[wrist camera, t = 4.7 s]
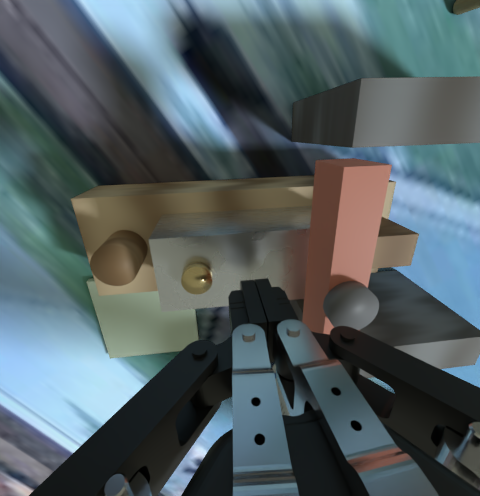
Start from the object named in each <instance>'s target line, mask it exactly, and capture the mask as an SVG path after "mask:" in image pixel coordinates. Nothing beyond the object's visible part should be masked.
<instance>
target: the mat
mask: <svg viewBox="0 0 480 496" xmlns="http://www.w3.org/2000/svg"><path fill="white" fill-rule="evenodd" d="M87 285H88V288H89V292H90V295H91V298H92V301H93V305H94V308H95V311H96V314H97V318H98V321H99V324H100V327H101V331H102V334H103V337H104V340H105V344H106V347H107V350H108V353H109V357H110V358H119V357H128V356H138V355H147V354H156V353H166V352H175V351H182V350H183V349H184V348H185V347H186V346H187V345H189V344H190V343H192V342H194V341H198V340H199V336H198V328H197V319H196V311H195V309H189V310H178V311H167V312H162V311H161V305H160V300H159V294H158V291H152V292H140V293H128V294H116V295H105V296H99V294H98V290H97V287H96V283H95V280H94V278H92V279H88V281H87Z"/></svg>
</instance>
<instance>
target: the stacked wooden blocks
mask: <svg viewBox="0 0 480 496" xmlns="http://www.w3.org/2000/svg"><path fill="white" fill-rule="evenodd" d="M291 142H301V143H311V144H321V145H331V146H341V147H352V148H354V147H380V146H406V145H431V144H457V143H480V77H416V78H361V79H358V80H355V81H353V82H350V83H347V84H344V85H341V86H339V87H336V88H333V89H330V90H327V91H325V92H322V93H319V94H316V95H313V96H311V97H308V98H305V99H302V100H299V101H297V102H294V103H293V115H292V136H291ZM395 184H396V182H394V181H391V180H389V182H388V187H387V192H386V197H385V202H384V208H383V213H382V218H381V223H380V228H379V233H378V238H377V243H376V248H375V254H374V259H373V264H372V269H371V274H370V279H369V284H368V289H369V290H370V291H371V292H372V293H373V294H374V295H375V296H376V297H377V299H378V301H379V310H378V313H377V315H376V317H375V318H374V320H373V321H372V322H371V323H370V324H368V325H367V326H366V327H364V328H362V329H360V330H359V331H361V332H363V333H365V334H367V335H369V336H371V337H373V338H375V339H377V340H380V341H382V342H384V343H386V344H388V345H390V346H392V347H394V348H396V349H399V350H401V351H403V352H405V353H407V354H409V355H411V356H413V357H415V358H418V359H420V360H422V361H424V362H426V363H428V364H430V365H432V366H434V367H437V368H439V369H444V368H452V367H460V366H468V365H475V363H476V361H477V359H478V356H479V354H480V330H479V329H477V328H476V327H475V326H473V325H472V324H470V323H469V322H468V321H466V320H465V319H464V318H462V317H461V316H459V315H458V314H457V313H455V312H454V311H452V310H451V309H450V308H448V307H447V306H446V305H444V304H443V303H441V302H440V301H439V300H437V299H436V298H434V297H433V296H432V295H430V294H429V293H428V292H426V291H425V290H423V289H422V288H421V287H419V286H418V285H417V284H415V283H414V282H412V281H411V280H410V279H408V278H407V277H405V276H404V275H403V274H401V273H400V272H399V271H397V270H391V271H379V272H377V271H378V268H386V267H398V266H410V265H411V262H412V258H413V255H414V251H415V247H416V243H417V239H418V236H419V234H418V233H416V232H413V231H411V230H409V229H407V228H405V227H403V226H401V225H399V224H397V223H395V222H393V221H390V220H388V218H389V213H390V208H391V204H392V199H393V194H394V189H395ZM313 186H314V175H310V176H290V177H269V178H248V179H228V180H207V181H186V182H166V183H145V184H124V185H104V186H97V187H95V188H92V189H90V190H88V191H86V192H84V193H82V194H80V195H78V196H76V197H74V198H72V199H71V201H72V205H73V208H74V211H75V215H76V218H77V222H78V225H79V229H80V232H81V235H82V239H83V242H84V246H85V249H86V253H87V256H88V259H89V263H90V267H91V270H92V273H93V277H94V280H95V283H96V287H97V290H98V294H99V296H105V295H116V294H128V293H140V292H152V291H158V289H157V283H156V278H155V273H154V267H153V262H152V256H151V251H150V245H149V240H148V239H149V238H150V236H151V234H152V232H153V230H154V229H155V227H156V225H157V223H158V221H159V220H160V218H161V216H162V215H163V214H180V213H197V212H214V211H231V210H248V209H265V208H282V207H298V206H312V199H313ZM289 301H290V304H291V305H292V307H293V309H294V311H295V313H296V315H297V317H298V319H299V321H301V322H302V319H303V307H304V299H297V300H289ZM360 375H362V376H364V377H366V378H371V377H374V376H372V375H370V374H369V373H367V372H365V371H363V370H362V369H360Z"/></svg>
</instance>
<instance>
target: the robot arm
mask: <svg viewBox="0 0 480 496" xmlns="http://www.w3.org/2000/svg"><path fill="white" fill-rule="evenodd" d="M228 300H229V316H230V326H231V336H230V337H229V338H228V339H227V340H226V341H225V342H223V343H221V344H218V345H215V344H213V343H212V342H210V341H207V340H198V341H194V342H192V343H190V344H189V345H187V346H186V347H185V348H184V349H183V350H182V351H181V352H180V353H179V354H178V355H177V356H176V357H175V358H173V359H172V360H171V361H170V362H169V363H168V364H167V365H166V366H165V367H164V368H163V369H162V370H161V371H160V372H159V373H158V374H157V375H156V376H154V377H153V378H152V379H151V380H150V381H149V382H148V383H147V384H146V385H145V386H144V387H143V388H142V389H141V390H140V391H139V392H138V393H137V394H135V395H134V396H133V397H132V398H131V399H130V400H129V401H128V402H127V403H126V404H125V405H124V406H123V407H122V408H121V409H120V410H119V411H118V412H116V413H115V414H114V415H113V416H112V417H111V418H110V419H109V420H108V421H107V422H106V423H105V424H104V425H103V426H102V427H101V428H100V429H99V430H97V431H96V432H95V433H94V434H93V435H92V436H91V437H90V438H89V439H88V440H87V441H86V442H85V443H84V444H83V445H82V446H81V447H80V448H78V449H77V450H76V451H75V452H74V453H73V454H72V455H71V456H70V457H69V458H68V459H67V460H66V461H65V462H64V463H63V464H62V465H61V466H59V467H58V468H57V469H56V470H55V471H54V472H53V473H52V474H51V475H50V476H49V477H48V478H47V479H46V480H45V481H44V482H43V483H42V484H41V485H39V486H38V487H37V488H36V489H35V490H34V491H33V492H32V493H31V494H30V495H29V496H157V495H158V493H159V492H160V491H161V489H162V488H163V486H164V485H165V484H166V482H167V481H168V479H169V478H170V477H171V475H172V474H173V472H174V471H175V469H176V468H177V467H178V465H179V464H180V462H181V461H182V460H183V458H184V457H185V455H186V454H187V453H188V451H189V450H190V448H191V447H192V445H193V444H194V443H195V441H196V440H197V438H198V437H199V436H200V434H201V433H202V431H203V430H204V429H205V427H206V426H207V424H208V423H209V421H210V420H211V419H212V417H213V416H214V414H215V413H216V412H217V410H218V409H219V407H220V405H221V401H223V400H225V399H227V398H229V397H231V396H232V405H233V429H231V430H230V431H228V432H226V433H225V434H224V435H222V436H221V437H220V438H219V439H218V440H217V441H216V442H215V443H214V444H213V446H212V447H211V448H210V449H209V451H208V452H207V454H206V456H205V457H204V459H203V461H202V462H201V464H200V466H199V467H198V469H197V471H196V472H195V474H194V475H193V477H192V479H191V480H190V482H189V484H188V485H187V487H186V489H185V490H184V492H183V494H182V495H181V496H480V388H479V387H477V386H474V385H472V384H470V383H468V382H466V381H464V380H462V379H460V378H458V377H455V376H453V375H451V374H449V373H447V372H445V371H443V370H441V369H439V368H437V367H434V366H432V365H430V364H428V363H426V362H424V361H422V360H420V359H418V358H415V357H413V356H411V355H409V354H407V353H405V352H403V351H401V350H399V349H396V348H394V347H392V346H390V345H388V344H386V343H384V342H382V341H380V340H377V339H375V338H373V337H371V336H369V335H367V334H365V333H363V332H361V331H359V330H356V329H354V328H352V327H348V326H337V327H334V328H333V329H332V330H331V331H330V334H322V333H316V332H312V331H310V329H309V328H308V326H307V325H306V324H304V323H303V322H301V321H299V319H298V317H297V315H296V313H295V311H294V309H293V307H292V305H291V304H290V301H289V299H288V297H287V295H286V293H285V291H284V290H282V289H281V288H280V287H271V284H270V282H269V279H268V278H265V279H255V280H243V281H240V290H235V291H231V293H230V295H229V296H228ZM272 362H274V363H275V366H276V379H277V382H278V385H279V387H280V390H281V393H282V395H283V398H284V401H285V403H286V406H287V409H288V412H289V414H290V416H288V415H282V412H281V407H280V401H279V396H278V390H277V385H276V380H275V374H274V370H273V369H271V366H270V363H272ZM360 369H362V370H363V371H365V372H367V373H369V374H370V375H372V376H374V377H376V378H377V379H379V380H381V381H383V382H385V383H386V384H388V385H389V386H390V387H392V389H393V390H394V391H395V394H394V393H391V392H390V391H388V390H386V389H384V388H383V387H381V386H379V385H378V384H376V383H374V382H372V381H371V380H369V379H367V378H366V377H364V376H362V375H360Z"/></svg>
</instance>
